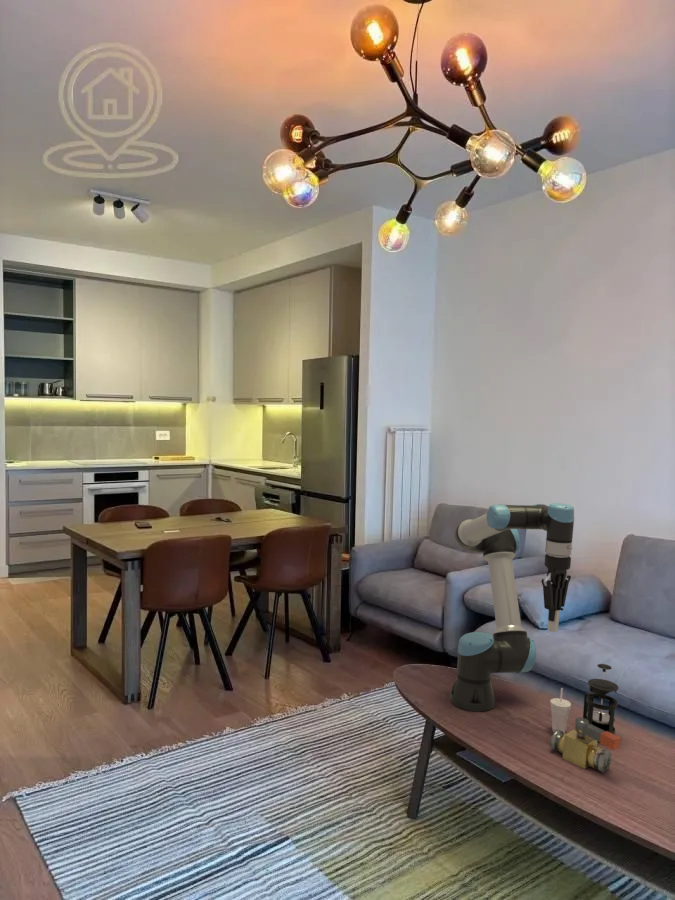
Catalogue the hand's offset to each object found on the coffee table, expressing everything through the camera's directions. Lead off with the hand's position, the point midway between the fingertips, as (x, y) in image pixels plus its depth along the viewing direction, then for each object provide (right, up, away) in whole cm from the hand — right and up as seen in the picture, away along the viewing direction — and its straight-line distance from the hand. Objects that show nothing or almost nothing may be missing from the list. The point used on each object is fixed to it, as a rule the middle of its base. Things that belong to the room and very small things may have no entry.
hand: (552, 630), depth 206 cm
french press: (+16, -35, +6) cm, 39 cm away
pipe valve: (+5, -35, -9) cm, 37 cm away
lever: (+8, -27, -14) cm, 31 cm away
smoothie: (+4, -34, +8) cm, 36 cm away
